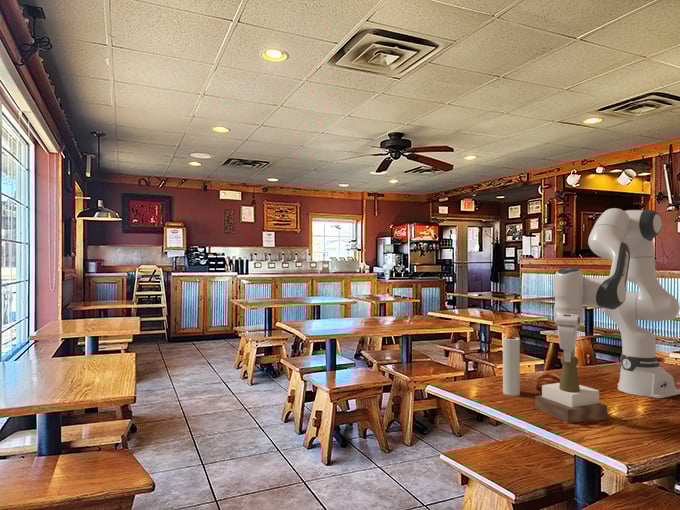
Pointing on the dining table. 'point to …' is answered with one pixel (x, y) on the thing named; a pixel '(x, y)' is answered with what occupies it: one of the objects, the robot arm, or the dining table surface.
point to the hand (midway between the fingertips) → (568, 358)
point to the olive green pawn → (569, 375)
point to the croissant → (546, 380)
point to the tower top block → (570, 395)
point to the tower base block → (572, 410)
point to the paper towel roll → (511, 366)
